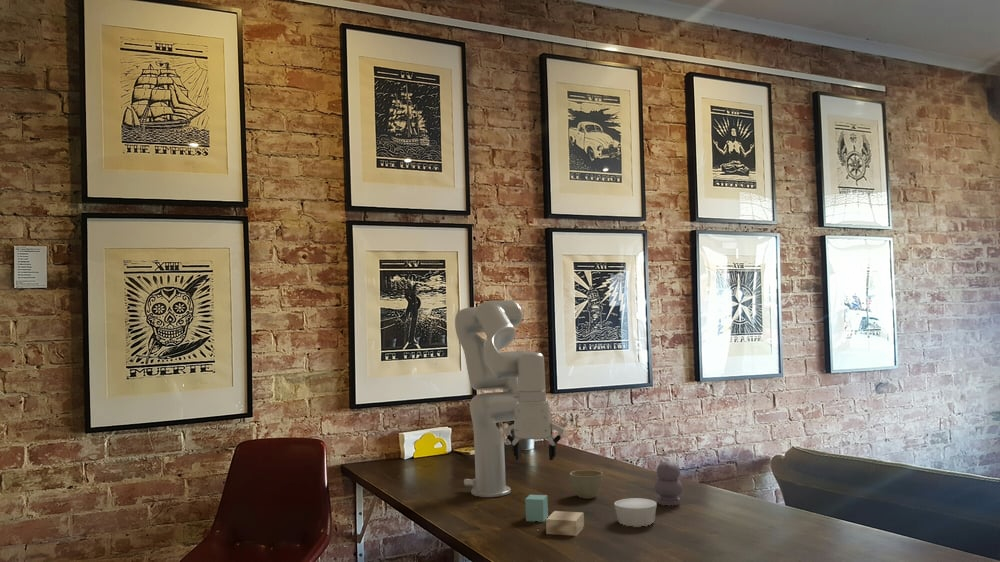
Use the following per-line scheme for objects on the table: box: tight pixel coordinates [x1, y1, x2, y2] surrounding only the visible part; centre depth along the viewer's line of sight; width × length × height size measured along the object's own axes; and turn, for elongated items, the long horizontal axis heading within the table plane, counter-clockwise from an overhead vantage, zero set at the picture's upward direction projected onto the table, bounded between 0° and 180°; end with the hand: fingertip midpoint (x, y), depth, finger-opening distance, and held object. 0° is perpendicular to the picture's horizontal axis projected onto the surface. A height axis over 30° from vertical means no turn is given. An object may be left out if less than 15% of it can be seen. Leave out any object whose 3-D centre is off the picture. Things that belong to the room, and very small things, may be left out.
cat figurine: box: [654, 459, 683, 507], centre depth 216 cm, size 8×8×12 cm
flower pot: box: [569, 469, 604, 499], centre depth 227 cm, size 10×10×7 cm
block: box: [524, 494, 549, 523], centre depth 205 cm, size 5×5×6 cm
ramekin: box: [613, 497, 658, 528], centre depth 197 cm, size 11×11×5 cm
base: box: [545, 510, 585, 537], centre depth 193 cm, size 8×8×4 cm
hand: (535, 459), depth 205 cm, fingers open, 9 cm apart
